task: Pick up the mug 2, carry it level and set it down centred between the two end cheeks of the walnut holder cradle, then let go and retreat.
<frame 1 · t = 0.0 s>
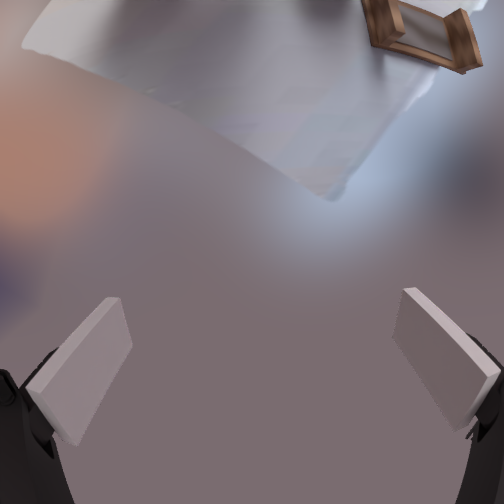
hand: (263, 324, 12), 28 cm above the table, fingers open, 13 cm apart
cradle: (416, 32, 28), on the table
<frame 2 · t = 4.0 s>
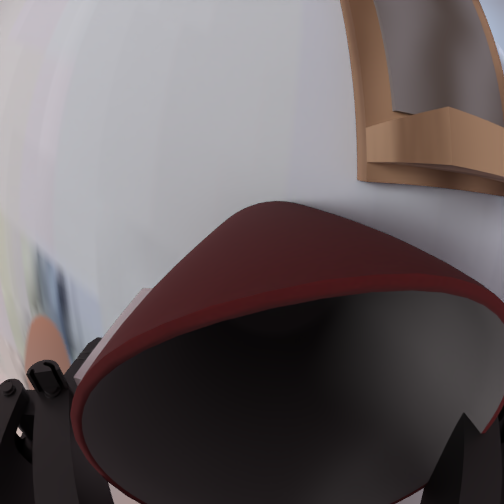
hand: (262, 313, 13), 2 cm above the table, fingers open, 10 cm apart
cradle: (430, 33, 9), on the table
mug 2: (258, 295, 15), on the table, touching gripper
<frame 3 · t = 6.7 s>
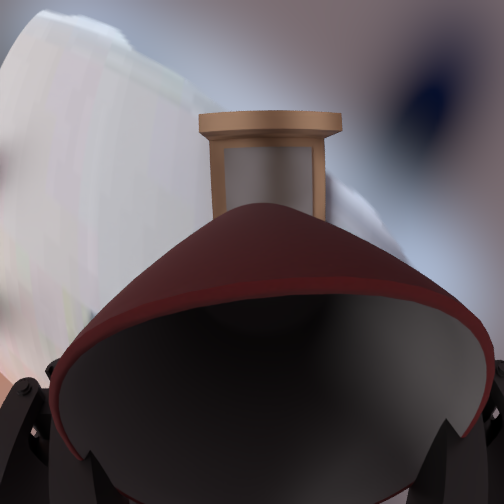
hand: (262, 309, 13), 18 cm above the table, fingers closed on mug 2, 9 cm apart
cradle: (269, 207, 30), on the table
mug 2: (246, 295, 15), point 16 cm above the table, touching gripper
when the fingers open (4 cm above the table, at t = 9.1 s): mug 2 drops 1 cm, resting on cradle.
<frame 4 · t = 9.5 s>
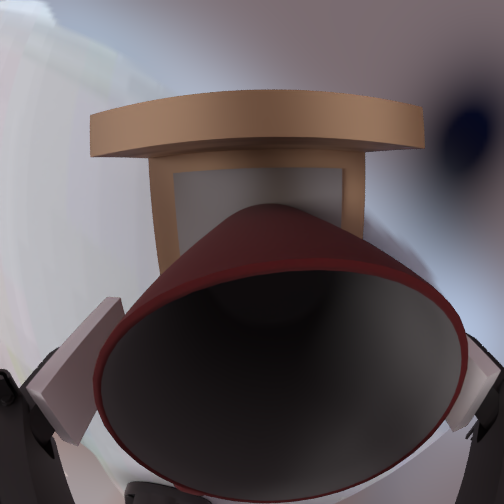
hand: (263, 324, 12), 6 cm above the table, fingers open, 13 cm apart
cradle: (260, 275, 17), on the table
mug 2: (254, 289, 16), point 1 cm above the table, touching cradle
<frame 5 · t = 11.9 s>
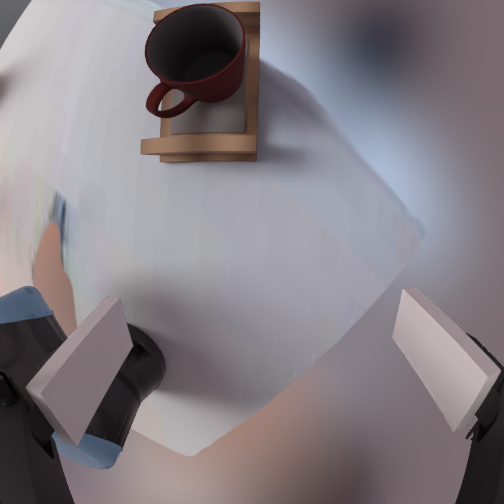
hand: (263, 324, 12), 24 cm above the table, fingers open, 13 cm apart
cradle: (210, 86, 30), on the table
mug 2: (205, 86, 29), point 1 cm above the table, touching cradle
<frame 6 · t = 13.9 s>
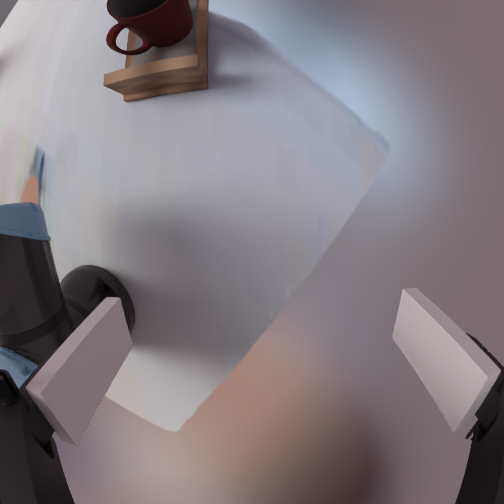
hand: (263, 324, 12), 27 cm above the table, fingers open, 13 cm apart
cradle: (167, 36, 29), on the table
mug 2: (162, 35, 28), point 1 cm above the table, touching cradle
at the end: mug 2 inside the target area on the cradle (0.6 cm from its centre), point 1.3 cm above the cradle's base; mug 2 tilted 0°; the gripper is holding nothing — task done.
